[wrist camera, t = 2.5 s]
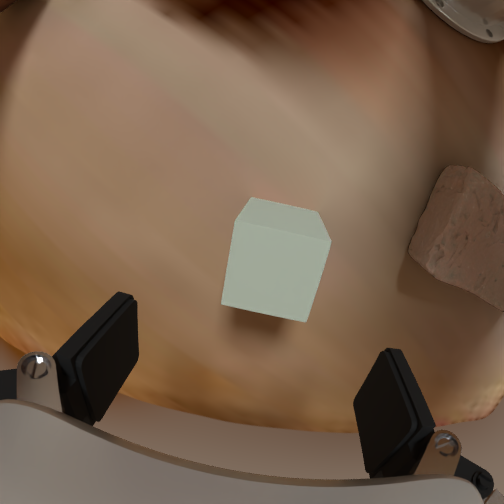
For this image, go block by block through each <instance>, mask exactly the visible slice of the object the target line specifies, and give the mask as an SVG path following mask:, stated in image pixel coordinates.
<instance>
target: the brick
mask: <svg viewBox="0 0 504 504" xmlns="http://www.w3.org/2000/svg"><path fill="white" fill-rule="evenodd" d="M408 253H409V255H410V256H411V257H412V258H413V259H414V260H415V261H416V262H418V263H419V264H420V265H421V267H423V268H424V269H425V270H426V271H427V272H429V273H430V274H432V275H433V276H434V277H435V278H436V279H437V280H440V281H442V282H445V283H447V284H450V285H453V286H456V287H459V288H461V289H464V290H467V291H469V292H471V293H473V294H475V295H476V296H478V297H479V298H481V299H483V300H484V301H486V302H487V303H489V304H491V305H492V306H494V307H496V308H497V309H499V310H501V311H502V312H504V196H503V194H502V192H501V191H500V190H499V189H498V188H497V187H496V186H495V185H493V184H492V183H491V182H490V181H489V180H488V179H486V178H485V177H483V176H482V175H481V174H480V173H479V172H478V171H476V170H475V169H473V168H471V167H469V166H468V167H467V168H466V167H463V166H461V165H459V166H455V165H449V166H448V167H446V168H445V169H444V171H443V172H442V173H441V175H440V177H439V178H438V180H437V182H436V185H435V187H434V189H433V191H432V193H431V195H430V199H429V202H428V204H427V207H426V209H425V211H424V213H423V214H422V216H421V217H420V219H419V222H418V228H417V230H416V233H415V234H414V236H413V237H412V240H411V243H410V245H409V249H408Z"/></svg>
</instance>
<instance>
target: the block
mask: <svg viewBox="0 0 504 504" xmlns="http://www.w3.org/2000/svg"><path fill="white" fill-rule="evenodd" d="M331 242H332V241H331V239H330V237H329V235H328V233H327V231H326V228H325V226H324V224H323V222H322V220H321V218H320V216H319V214H318V212H316V211H312V210H308V209H304V208H299V207H295V206H290V205H286V204H281V203H277V202H272V201H268V200H263V199H258V198H253V197H251V198H250V200H249V201H248V202H247V204H246V205H245V207H244V208H243V210H242V211H241V213H240V214H239V215H238V217H237V218H236V220H235V224H234V229H233V235H232V241H231V247H230V253H229V259H228V264H227V270H226V276H225V283H224V289H223V295H222V301H221V304H222V305H226V306H231V307H235V308H239V309H244V310H248V311H253V312H258V313H262V314H267V315H272V316H277V317H281V318H286V319H291V320H297V321H302V322H306V321H307V318H308V316H309V313H310V310H311V307H312V304H313V301H314V298H315V294H316V291H317V288H318V285H319V282H320V279H321V276H322V272H323V269H324V266H325V263H326V259H327V256H328V252H329V249H330V246H331Z"/></svg>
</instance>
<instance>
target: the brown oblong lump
mask: <svg viewBox="0 0 504 504" xmlns="http://www.w3.org/2000/svg"><path fill="white" fill-rule="evenodd" d="M15 1H17V0H0V12H2V11H4V10H5V9H6V8H8V7H9V6H10V5H11V4H13V3H14V2H15Z"/></svg>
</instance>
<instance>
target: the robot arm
mask: <svg viewBox="0 0 504 504" xmlns="http://www.w3.org/2000/svg"><path fill="white" fill-rule="evenodd" d="M422 1H423V2H424V3H425V4H426V5H427V6H428V7H429V8H430V9H431V10H432V11H433V12H434V13H435V14H436V15H438V16H439V17H440V18H441V19H442V20H444V21H445V22H446V23H447V24H449V25H450V26H451V27H453V28H454V29H456V30H457V31H459V32H460V33H462V34H464V35H466V36H468V37H470V38H472V39H474V40H477V41H480V42H484V43H496V42H499V41H501V40H504V0H422ZM138 357H139V346H138V319H137V301H136V300H134V298H133V296H132V295H129V294H126V293H123V292H117V293H116V294H115V295H114V296H113V297H112V298H111V299H110V300H108V301H107V302H106V303H105V304H104V305H103V306H102V307H101V308H100V309H99V310H98V311H97V312H96V313H95V314H94V315H93V316H92V317H91V318H90V319H89V320H87V321H86V322H85V323H84V324H83V325H82V326H81V327H80V328H79V329H78V330H77V331H76V332H75V333H74V334H73V335H72V336H71V337H70V338H69V339H68V341H67V342H66V343H65V344H64V345H63V346H62V347H61V348H60V349H59V350H58V351H57V352H56V353H55V354H54V355H53V356H52V357H51V356H50V355H49V354H47V353H44V352H31V353H28V354H26V355H25V356H23V357H22V358H21V359H20V361H19V362H18V365H17V369H11V370H3V371H0V504H504V496H503V495H502V494H501V493H500V492H499V491H498V490H497V489H495V490H494V491H493V487H494V482H493V478H492V476H491V475H490V473H489V472H487V471H486V470H485V469H483V468H481V467H479V466H478V465H476V464H474V463H473V462H471V461H469V460H468V459H466V458H464V457H463V456H461V450H462V446H461V443H460V441H459V439H458V438H457V436H456V435H455V434H453V433H452V432H450V431H447V430H439V431H437V432H434V429H433V428H434V427H435V426H436V425H435V422H434V420H433V417H432V415H431V413H430V410H429V408H428V406H427V404H426V401H425V399H424V397H423V395H422V392H421V390H420V388H419V386H418V384H417V381H416V379H415V377H414V375H413V373H412V371H411V369H410V367H409V365H408V363H407V361H406V359H405V357H404V355H403V353H402V351H401V350H400V349H393V348H386V349H385V350H384V351H382V352H380V354H379V356H378V358H377V360H376V362H375V363H374V365H373V367H372V369H371V371H370V373H369V374H368V376H367V378H366V380H365V381H364V383H363V385H362V386H361V388H360V390H359V392H358V393H357V395H356V397H355V399H354V402H353V406H354V411H355V416H356V421H357V426H358V431H359V436H360V442H361V447H362V453H363V458H364V464H365V470H366V472H367V473H369V475H370V479H353V480H352V479H351V480H321V479H320V480H319V479H299V478H286V477H276V476H267V475H259V474H252V473H245V472H239V471H234V470H228V469H223V468H218V467H214V466H209V465H205V464H201V463H197V462H193V461H188V460H185V459H181V458H178V457H174V456H171V455H167V454H164V453H161V452H158V451H155V450H152V449H149V448H146V447H143V446H140V445H138V444H135V443H132V442H129V441H127V440H124V439H122V438H119V437H117V436H114V435H111V434H109V433H107V432H104V431H102V430H100V429H97V428H95V427H93V425H94V423H95V422H96V421H98V422H99V421H100V420H101V419H102V418H103V416H104V414H105V412H106V411H107V409H108V408H109V406H110V404H111V403H112V401H113V400H114V398H115V396H116V395H117V393H118V391H119V390H120V388H121V387H122V385H123V383H124V382H125V380H126V379H127V377H128V375H129V374H130V372H131V371H132V369H133V368H134V366H135V364H136V363H137V361H138Z"/></svg>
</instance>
